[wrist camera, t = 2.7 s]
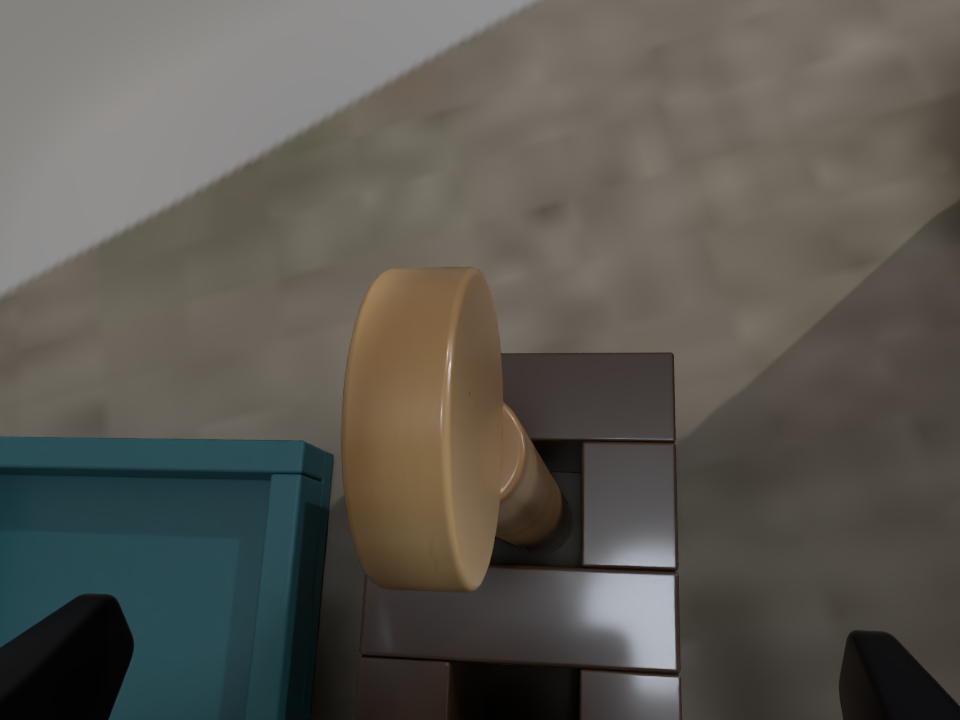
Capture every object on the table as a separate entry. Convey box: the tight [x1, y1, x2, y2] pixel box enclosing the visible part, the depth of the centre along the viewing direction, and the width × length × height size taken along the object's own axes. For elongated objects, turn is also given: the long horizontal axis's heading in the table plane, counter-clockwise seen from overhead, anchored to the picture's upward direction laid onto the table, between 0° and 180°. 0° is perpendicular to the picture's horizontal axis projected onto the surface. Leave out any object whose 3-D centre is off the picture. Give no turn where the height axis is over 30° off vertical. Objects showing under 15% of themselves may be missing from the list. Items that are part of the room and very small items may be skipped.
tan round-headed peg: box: [341, 267, 573, 593], centre depth 14 cm, size 3×2×14 cm, turn 178°
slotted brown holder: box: [354, 353, 682, 720], centre depth 18 cm, size 10×6×4 cm, turn 178°
